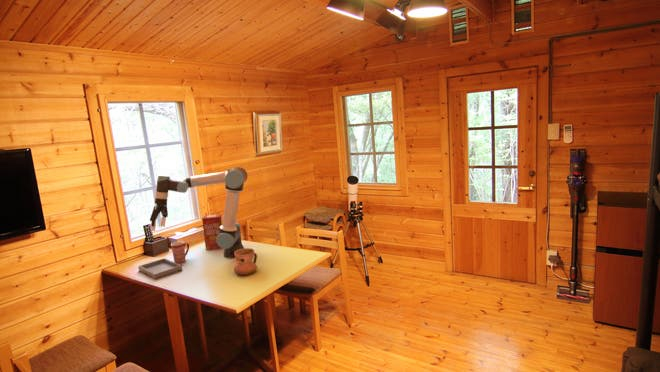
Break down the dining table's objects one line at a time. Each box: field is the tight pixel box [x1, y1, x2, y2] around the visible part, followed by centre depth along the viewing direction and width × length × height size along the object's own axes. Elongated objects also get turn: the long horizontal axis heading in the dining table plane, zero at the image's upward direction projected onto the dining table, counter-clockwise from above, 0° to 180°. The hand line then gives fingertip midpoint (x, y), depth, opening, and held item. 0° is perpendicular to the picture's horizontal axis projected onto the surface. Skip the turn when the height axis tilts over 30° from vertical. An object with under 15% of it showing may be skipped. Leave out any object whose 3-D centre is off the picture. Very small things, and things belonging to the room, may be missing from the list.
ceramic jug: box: [232, 247, 258, 276], centre depth 251 cm, size 18×14×14 cm
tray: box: [138, 257, 183, 280], centre depth 263 cm, size 24×18×4 cm
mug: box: [170, 240, 190, 264], centre depth 279 cm, size 13×9×14 cm
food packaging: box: [201, 213, 223, 251], centre depth 303 cm, size 13×9×25 cm
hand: (157, 228), depth 269 cm, fingers open, 13 cm apart
